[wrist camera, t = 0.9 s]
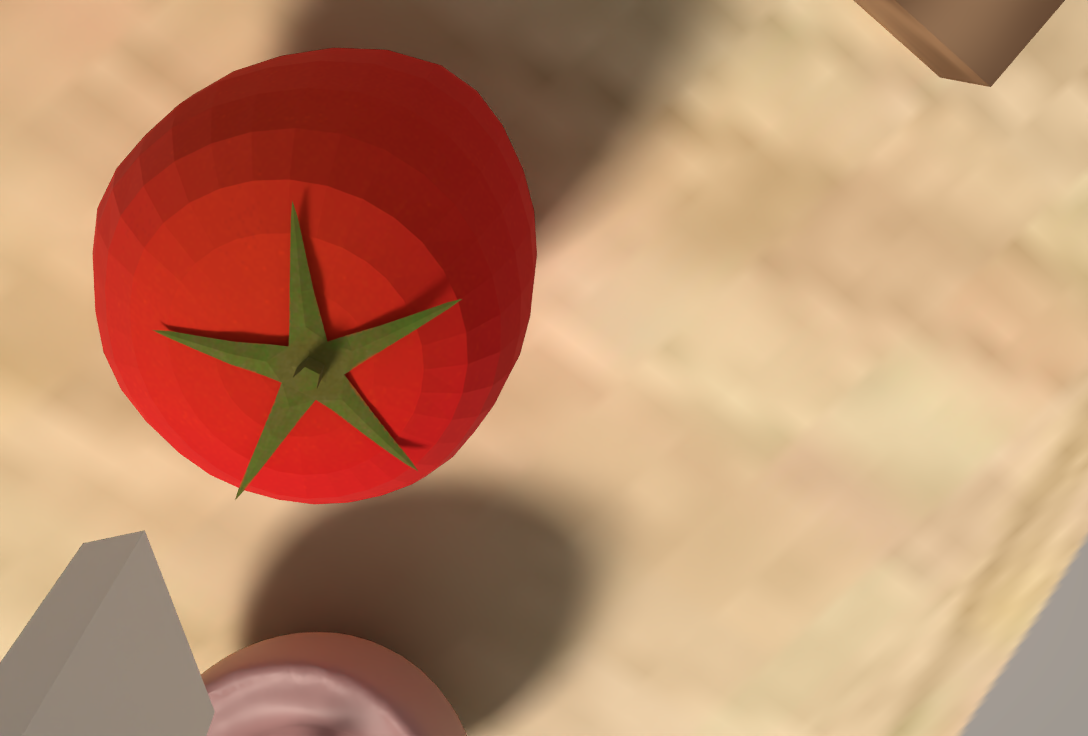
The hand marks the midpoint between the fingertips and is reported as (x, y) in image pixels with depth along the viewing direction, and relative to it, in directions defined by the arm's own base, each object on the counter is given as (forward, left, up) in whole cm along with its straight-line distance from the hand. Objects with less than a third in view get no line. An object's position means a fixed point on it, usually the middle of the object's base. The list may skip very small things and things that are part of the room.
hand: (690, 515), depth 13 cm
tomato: (-5, -5, -24) cm, 25 cm away
